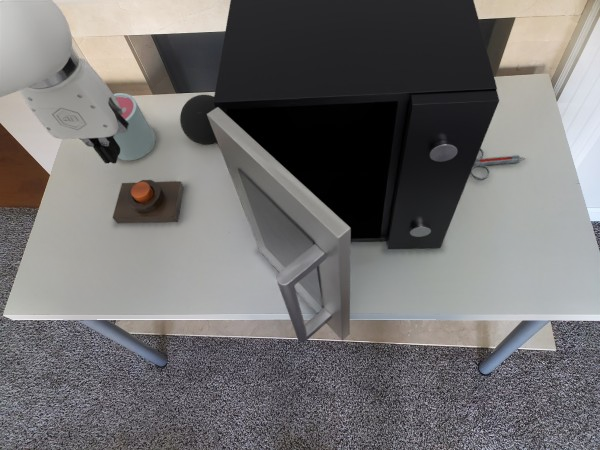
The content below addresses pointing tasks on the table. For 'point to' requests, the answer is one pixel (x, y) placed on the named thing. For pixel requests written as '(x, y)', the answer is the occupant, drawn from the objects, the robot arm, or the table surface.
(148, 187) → the button
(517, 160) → the syringe
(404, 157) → the microwave
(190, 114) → the speaker
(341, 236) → the microwave door
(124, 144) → the mug
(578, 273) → the table surface
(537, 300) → the table surface
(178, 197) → the button block
